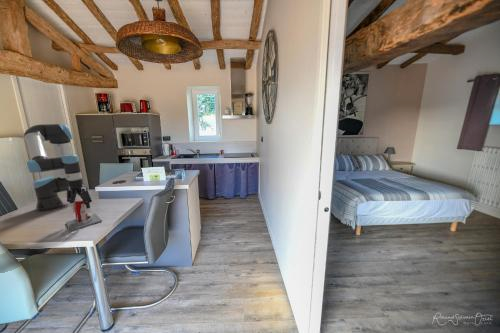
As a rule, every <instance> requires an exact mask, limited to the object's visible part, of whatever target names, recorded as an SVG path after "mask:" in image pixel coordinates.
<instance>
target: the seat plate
mask: <svg viewBox="0 0 500 333" xmlns="http://www.w3.org/2000/svg"><path fill="white" fill-rule="evenodd" d="M91 215H93V216H94V220H93V221H91V222H89V223H86V224H83V225H74V224H73V220H74V219H71V220H68V221H65V224H66V226H67V228H68V230H69V232H73V231H77V230H80V229H83V228H86V227H89V226H93V225H96V224H99V223H102V222H103V220H102V219H101V218H100V217H99V215H98V214H97V213H93V214H91ZM88 219H89V218H88Z"/></svg>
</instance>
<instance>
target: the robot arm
mask: <svg viewBox="0 0 500 333" xmlns="http://www.w3.org/2000/svg"><path fill="white" fill-rule="evenodd" d="M23 140H24V143H26V144H27V148H28V152H29V157H30V160H27V161H26V165H27V169H28V172H29V173H31V174H35V173H44V172H51V171H57V170H58V174H57V177H54V176H47V177H42V178H40V179H36V180H35V181H34V182H33V189H34V193H35V196H36V205H35V208H36V211H37V212H45V211H52V210H54V209H58V208H60V207H62V206H63V205H64V202H63V200H62V199H61V198H60V197H59V194H58V193H63V192H66V202H68V203H69V204H70V206H71V210H72V213H75V207H74V201H75V200H76V199H77V195H78V196H79V197H80V199H82V200H83V202H84V203H85V204H84V208H85V212H86V214H87V215H88V214H90V213H91V212H92V211H91V204H90V203H92V202H93V200H92V197H91V195H90V194H89V191H88V187H84V186H83V185H84V179H83V175H82V171H81V166H80V159H79V157H78V155H77V154H75V153H74V154H71V151H70V146H69V144H70V143H71V140H73V135H72V132H71V130H70V128H69V126H68V125H67V124H65V123H64V124H61V123H55V124H54V123H52V124H51V123H49V124H47V123H45V124H35V125H33V126H30V127H29V128H27V129H26V130H25V131H24V134H23ZM48 141H49V143H50V144H51V145H52V146H53V149H54V150H53V151H54V154H55V157H52V158H49V156H48V152H47V150H46V147H45V144H44V142H48Z"/></svg>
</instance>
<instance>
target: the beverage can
mask: <svg viewBox="0 0 500 333" xmlns="http://www.w3.org/2000/svg"><path fill="white" fill-rule="evenodd" d="M84 204H85V203H84V202H83V200H82V199H81V198H76V199H75V201H74V207H75V212H74V213H75V219H76V221H84V220H87V219H88V217H87V215H88V213H87V214H86V212H85V208H84Z"/></svg>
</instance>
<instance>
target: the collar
mask: <svg viewBox="0 0 500 333" xmlns="http://www.w3.org/2000/svg"><path fill="white" fill-rule="evenodd" d="M87 217H88V218H89V219H87V220H84V221H76V218H74V219H72V220H73V224H74V225H83V224H86V223H89V222H91V221H93V220H94V216H93V215H92V214H87Z"/></svg>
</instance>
